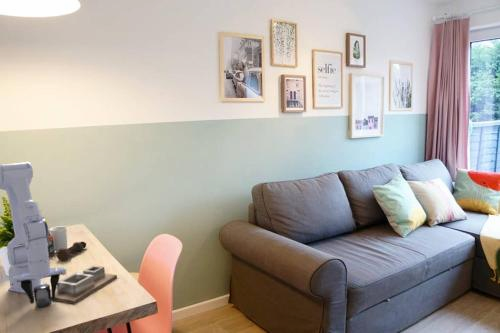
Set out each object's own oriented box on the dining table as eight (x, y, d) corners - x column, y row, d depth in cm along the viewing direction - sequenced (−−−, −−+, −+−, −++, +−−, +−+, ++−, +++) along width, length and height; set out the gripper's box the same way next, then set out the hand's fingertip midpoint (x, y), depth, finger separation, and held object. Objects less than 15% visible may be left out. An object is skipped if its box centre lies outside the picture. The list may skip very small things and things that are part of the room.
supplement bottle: (43, 254, 165) (40, 229, 163) (57, 253, 165) (54, 228, 164) (36, 259, 159) (33, 233, 157) (51, 258, 159) (48, 232, 158)
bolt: (85, 252, 171) (64, 264, 156) (76, 246, 171) (54, 258, 156) (90, 241, 170) (69, 252, 155) (81, 236, 170) (59, 246, 155)
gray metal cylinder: (32, 307, 118) (30, 289, 117) (44, 300, 122) (42, 283, 121) (43, 309, 116) (40, 291, 115) (54, 302, 120) (52, 285, 119)
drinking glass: (71, 248, 171) (69, 227, 169) (57, 253, 165) (55, 231, 164) (63, 246, 174) (61, 225, 173) (49, 250, 169) (46, 229, 167)
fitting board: (41, 297, 124) (40, 286, 123) (86, 273, 142) (86, 263, 142) (74, 303, 119) (73, 291, 119) (116, 277, 138) (116, 267, 137)
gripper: (9, 268, 110) (14, 311, 112) (63, 258, 116) (68, 300, 118) (12, 260, 117) (18, 301, 119) (64, 251, 123) (68, 290, 124)
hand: (43, 299), depth 119 cm, fingers open, 5 cm apart
